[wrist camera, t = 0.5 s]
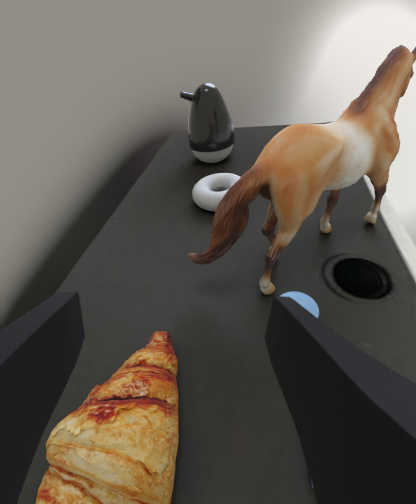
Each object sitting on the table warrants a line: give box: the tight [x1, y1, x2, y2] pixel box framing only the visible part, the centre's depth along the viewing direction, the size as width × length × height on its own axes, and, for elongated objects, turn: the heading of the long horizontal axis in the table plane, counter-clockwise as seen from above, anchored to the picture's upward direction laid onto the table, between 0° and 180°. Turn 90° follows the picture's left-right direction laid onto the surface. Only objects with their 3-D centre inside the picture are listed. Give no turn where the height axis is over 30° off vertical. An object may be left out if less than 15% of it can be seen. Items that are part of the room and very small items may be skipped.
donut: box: [192, 173, 241, 212], centre depth 48 cm, size 10×4×10 cm
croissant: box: [36, 331, 179, 504], centre depth 19 cm, size 21×10×8 cm, turn 166°
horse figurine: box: [188, 45, 416, 294], centre depth 30 cm, size 31×8×21 cm, turn 121°
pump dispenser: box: [180, 83, 235, 163], centre depth 57 cm, size 10×10×15 cm
